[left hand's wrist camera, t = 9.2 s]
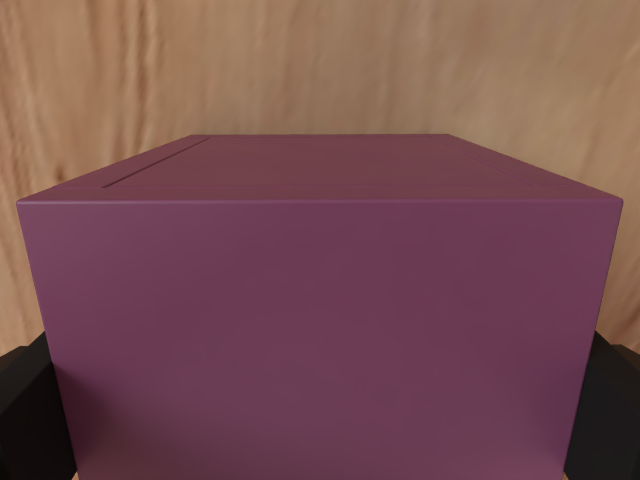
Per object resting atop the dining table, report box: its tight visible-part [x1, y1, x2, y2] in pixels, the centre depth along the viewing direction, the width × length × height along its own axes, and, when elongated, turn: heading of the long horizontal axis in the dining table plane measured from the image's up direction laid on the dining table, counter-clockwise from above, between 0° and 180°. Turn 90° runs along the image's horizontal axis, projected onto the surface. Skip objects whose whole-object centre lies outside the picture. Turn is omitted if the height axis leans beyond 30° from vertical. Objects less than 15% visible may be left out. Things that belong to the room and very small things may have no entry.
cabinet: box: [16, 134, 623, 480], centre depth 15 cm, size 16×10×11 cm, turn 0°
